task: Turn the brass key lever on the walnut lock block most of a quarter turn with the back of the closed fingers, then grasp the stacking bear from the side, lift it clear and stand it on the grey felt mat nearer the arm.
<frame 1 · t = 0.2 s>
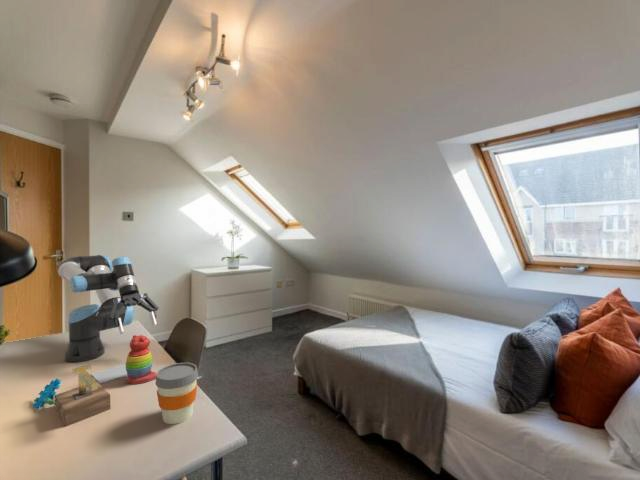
hand: (139, 329, 140), 16 cm above the table, tool tilted 35°, fingers open, 13 cm apart
key: (87, 386, 101), point 10 cm above the table, hinge at 0.0°
stacking bear: (140, 379, 127), on the table
mat: (112, 374, 131), on the table
lock block: (83, 409, 106), on the table
gear: (48, 405, 109), on the table
reusable coffee cup: (178, 416, 102), on the table
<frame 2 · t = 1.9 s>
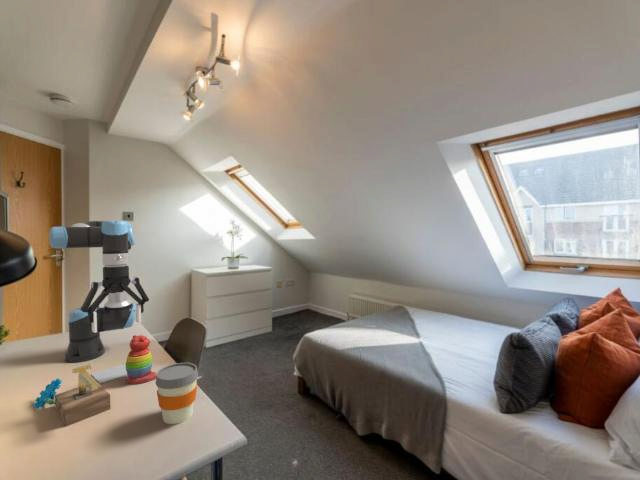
hand: (117, 326, 108), 27 cm above the table, tool pointing down, fingers open, 13 cm apart
nothing on the table moved.
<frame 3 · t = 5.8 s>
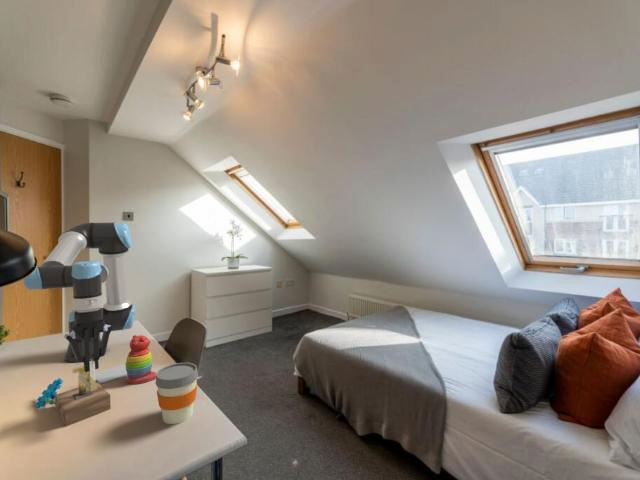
hand: (91, 379, 103), 11 cm above the table, tool pointing down, fingers closed
key: (87, 386, 101), point 10 cm above the table, hinge at -1.0°, touching gripper
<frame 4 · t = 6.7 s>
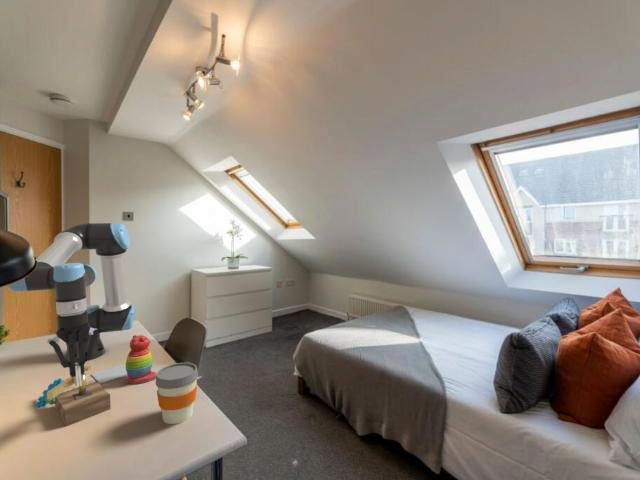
hand: (78, 384, 100), 11 cm above the table, tool pointing down, fingers closed
key: (68, 390, 99), point 10 cm above the table, hinge at -45.0°, touching gripper
everything else where it was.
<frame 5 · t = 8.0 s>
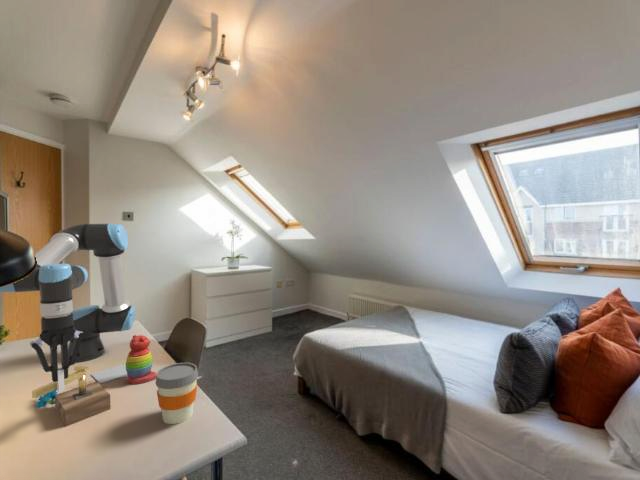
hand: (60, 389, 96), 11 cm above the table, tool pointing down, fingers closed
key: (61, 389, 99), point 10 cm above the table, hinge at -65.8°, touching gripper
everything else where it was.
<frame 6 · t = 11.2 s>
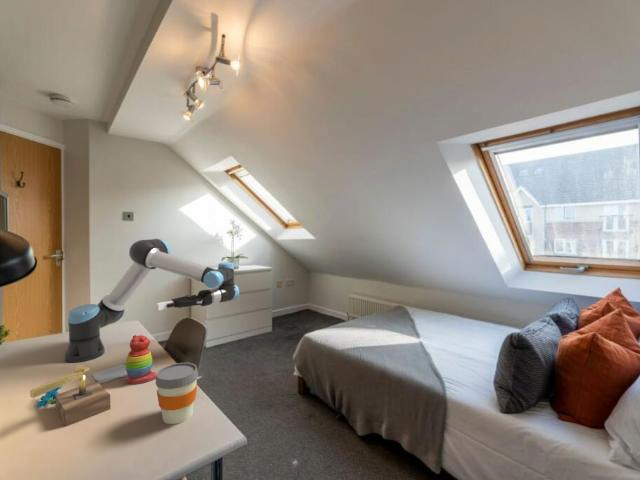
hand: (157, 306, 131), 28 cm above the table, tool horizontal, fingers closed
key: (60, 389, 99), point 10 cm above the table, hinge at -69.9°
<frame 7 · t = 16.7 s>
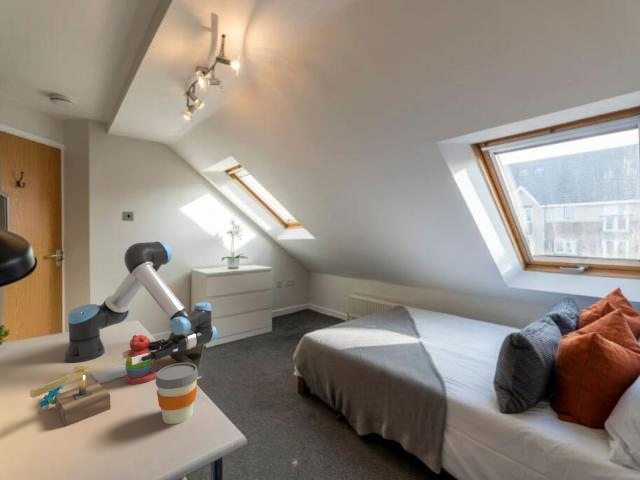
hand: (127, 358, 123), 10 cm above the table, tool horizontal, fingers closed on stacking bear, 9 cm apart
stacking bear: (140, 379, 127), on the table, touching gripper
when the fingers open (11 cm above the table, at t = 21.6 s): stacking bear drops 1 cm, resting on mat.
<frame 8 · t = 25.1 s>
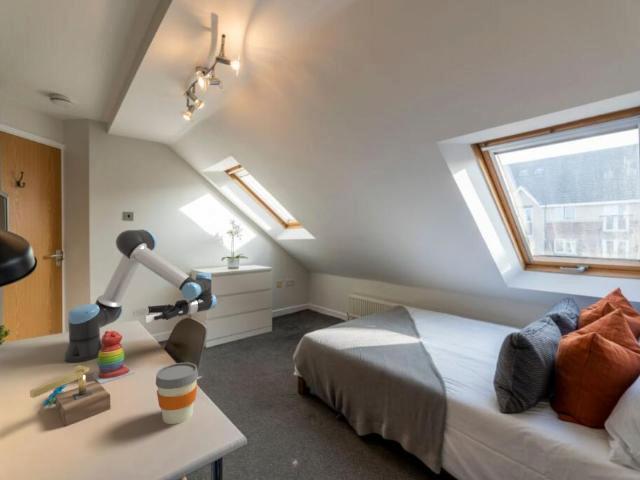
hand: (139, 316, 138), 22 cm above the table, tool horizontal, fingers open, 13 cm apart
stacking bear: (112, 373, 131), resting on mat
at the end: key at -70° (first picture: +0°); stacking bear inside the target area on the mat (0.1 cm from its centre), point 0.2 cm above the mat's base; stacking bear tilted 0° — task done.
